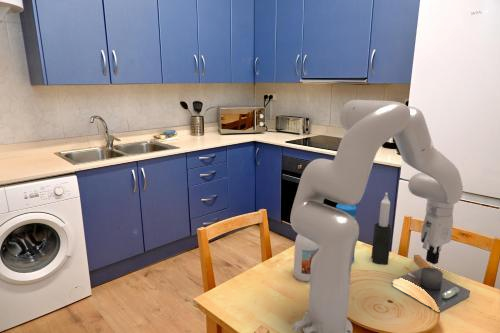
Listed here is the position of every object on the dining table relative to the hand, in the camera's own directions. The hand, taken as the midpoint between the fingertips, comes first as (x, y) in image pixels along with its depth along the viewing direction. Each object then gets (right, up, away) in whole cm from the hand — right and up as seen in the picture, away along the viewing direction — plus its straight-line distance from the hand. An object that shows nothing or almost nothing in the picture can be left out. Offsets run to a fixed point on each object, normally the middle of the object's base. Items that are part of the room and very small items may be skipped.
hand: (431, 262), depth 114 cm
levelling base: (-6, -6, -11) cm, 14 cm away
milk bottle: (-42, -4, -3) cm, 42 cm away
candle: (-15, -2, +7) cm, 16 cm away
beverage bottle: (-28, -1, +8) cm, 29 cm away
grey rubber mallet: (-6, -3, -8) cm, 10 cm away
